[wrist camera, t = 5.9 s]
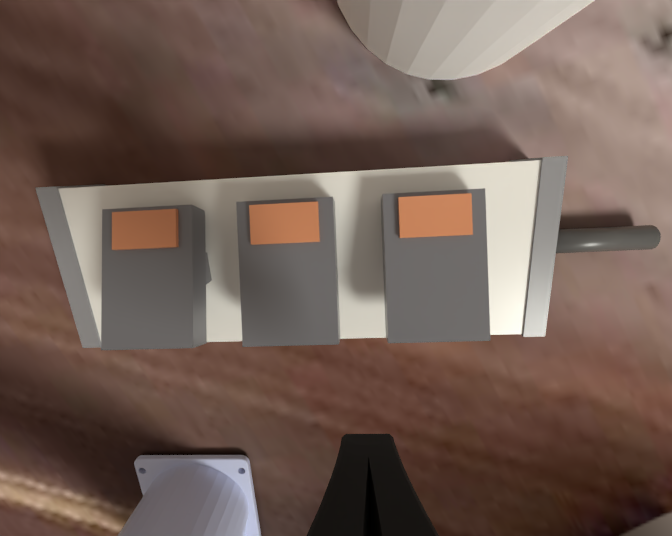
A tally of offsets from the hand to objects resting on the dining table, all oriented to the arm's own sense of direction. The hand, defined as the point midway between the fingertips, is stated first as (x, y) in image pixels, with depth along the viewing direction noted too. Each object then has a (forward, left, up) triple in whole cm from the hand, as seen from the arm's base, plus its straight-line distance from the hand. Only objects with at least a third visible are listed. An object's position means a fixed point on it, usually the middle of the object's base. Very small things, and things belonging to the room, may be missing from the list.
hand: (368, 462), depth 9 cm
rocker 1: (+4, +9, -6) cm, 11 cm away
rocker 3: (+4, -3, -6) cm, 8 cm away
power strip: (+4, 0, -10) cm, 11 cm away
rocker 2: (+4, +3, -6) cm, 8 cm away
